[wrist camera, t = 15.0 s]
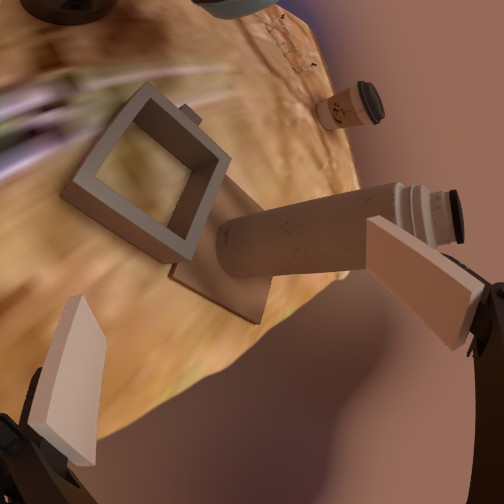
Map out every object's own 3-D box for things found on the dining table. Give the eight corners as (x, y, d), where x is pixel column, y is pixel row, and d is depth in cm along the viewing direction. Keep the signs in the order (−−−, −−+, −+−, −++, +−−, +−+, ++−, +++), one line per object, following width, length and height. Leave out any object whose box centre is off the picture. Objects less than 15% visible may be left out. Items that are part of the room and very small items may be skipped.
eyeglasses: (259, 23, 55) (276, 13, 52) (280, 16, 64) (295, 9, 60) (297, 80, 64) (315, 72, 60) (312, 65, 72) (327, 59, 69)
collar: (135, 90, 31) (157, 69, 28) (210, 157, 40) (237, 145, 37) (59, 196, 25) (72, 180, 21) (164, 264, 33) (191, 261, 30)
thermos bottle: (230, 206, 41) (450, 153, 22) (264, 241, 45) (463, 211, 27) (206, 255, 37) (461, 220, 18) (246, 289, 41) (468, 276, 23)
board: (212, 168, 40) (217, 166, 40) (279, 230, 50) (284, 229, 50) (168, 276, 34) (172, 276, 33) (254, 324, 44) (260, 324, 43)
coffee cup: (306, 102, 64) (364, 82, 54) (319, 92, 71) (370, 74, 61) (327, 144, 69) (384, 128, 59) (337, 129, 76) (388, 115, 66)
